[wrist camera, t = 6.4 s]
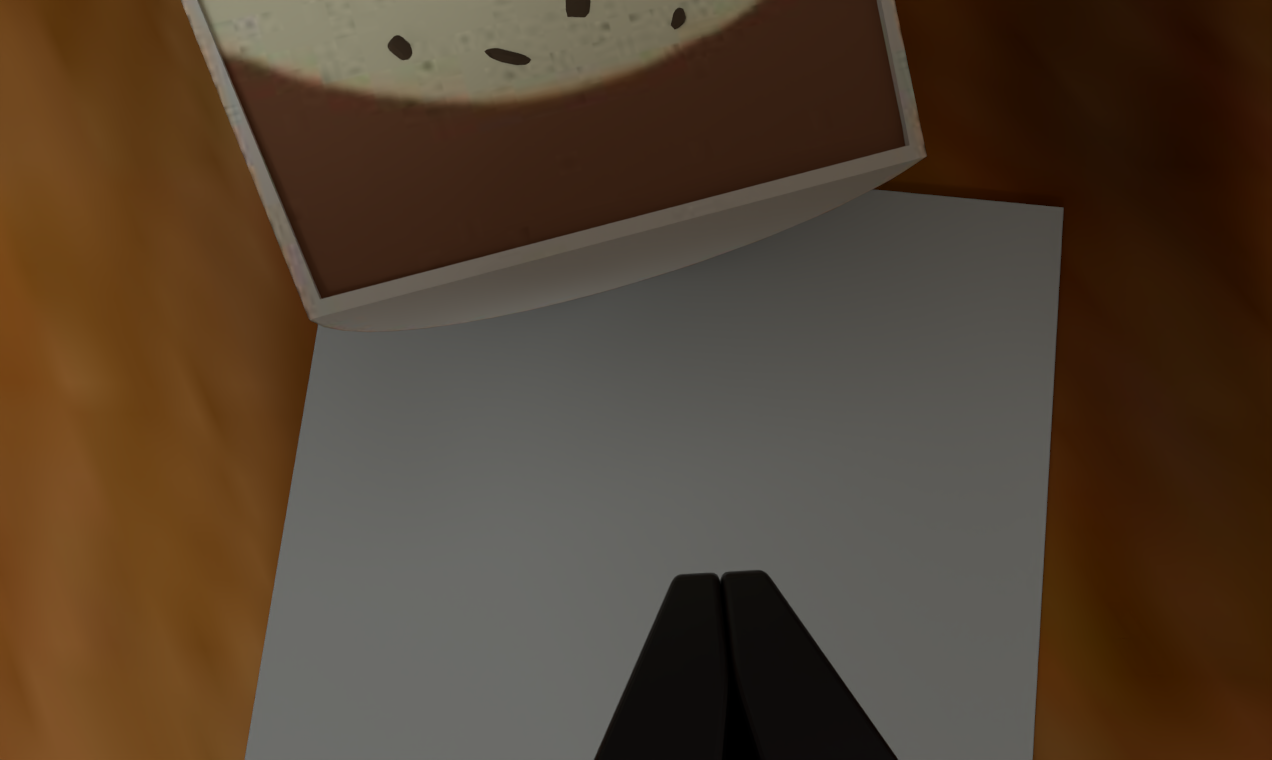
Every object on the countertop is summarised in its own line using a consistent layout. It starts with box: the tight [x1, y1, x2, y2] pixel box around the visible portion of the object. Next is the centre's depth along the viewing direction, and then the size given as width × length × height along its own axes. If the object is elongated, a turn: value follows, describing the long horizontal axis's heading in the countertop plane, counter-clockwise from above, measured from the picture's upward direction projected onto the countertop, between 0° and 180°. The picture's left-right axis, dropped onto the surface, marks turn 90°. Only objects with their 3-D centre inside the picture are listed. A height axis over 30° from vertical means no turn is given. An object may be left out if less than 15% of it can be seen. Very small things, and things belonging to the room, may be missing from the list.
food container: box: [181, 0, 927, 332], centre depth 18 cm, size 12×6×10 cm
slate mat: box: [245, 189, 1064, 760], centre depth 19 cm, size 15×14×1 cm
